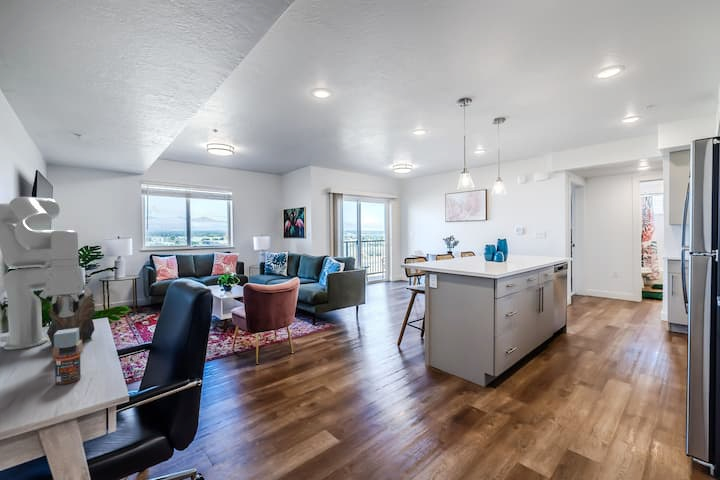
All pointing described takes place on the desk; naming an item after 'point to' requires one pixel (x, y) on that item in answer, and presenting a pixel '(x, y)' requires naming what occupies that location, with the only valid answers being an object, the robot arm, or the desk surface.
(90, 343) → the desk surface
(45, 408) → the desk surface
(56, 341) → the slate block
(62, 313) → the rook chess piece
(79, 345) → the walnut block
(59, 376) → the supplement bottle
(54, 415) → the desk surface
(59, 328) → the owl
